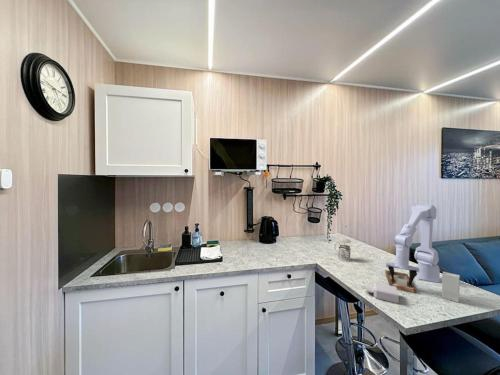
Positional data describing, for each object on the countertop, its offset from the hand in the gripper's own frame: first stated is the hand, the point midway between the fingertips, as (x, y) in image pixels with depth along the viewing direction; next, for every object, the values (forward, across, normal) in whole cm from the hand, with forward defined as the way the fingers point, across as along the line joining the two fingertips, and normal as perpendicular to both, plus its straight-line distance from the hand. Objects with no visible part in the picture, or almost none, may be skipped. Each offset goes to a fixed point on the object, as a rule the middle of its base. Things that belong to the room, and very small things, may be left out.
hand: (401, 282), depth 113 cm
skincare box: (+3, +19, -3) cm, 19 cm away
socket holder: (+2, 0, +6) cm, 6 cm away
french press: (+3, -30, +30) cm, 43 cm away
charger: (+3, -12, -16) cm, 20 cm away
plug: (+2, 0, 0) cm, 3 cm away
